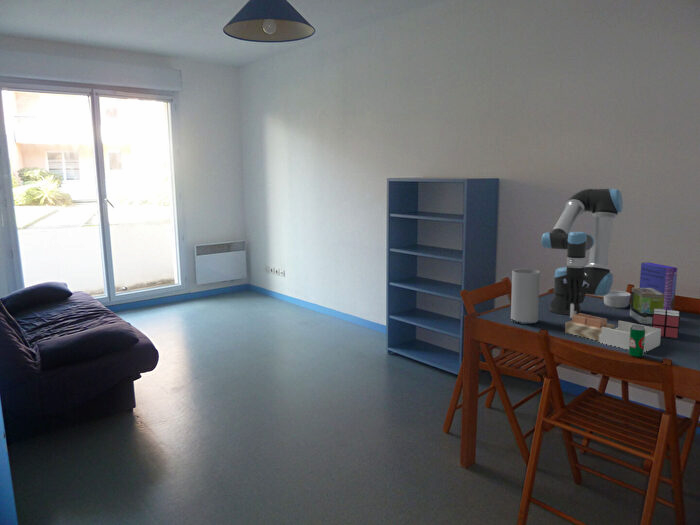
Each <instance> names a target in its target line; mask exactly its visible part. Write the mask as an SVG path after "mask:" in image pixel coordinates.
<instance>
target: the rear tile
mask: <svg viewBox="0 0 700 525" xmlns="http://www.w3.org/2000/svg"><path fill="white" fill-rule="evenodd" d="M592 316H593V315H591V314H585V313H578V314H575V315H573V316H572V318H571V319H572V322H575V323H579V324H584V325H586V321H587V318H589V317H592Z"/></svg>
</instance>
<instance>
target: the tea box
mask: <svg viewBox="0 0 700 525" xmlns="http://www.w3.org/2000/svg"><path fill="white" fill-rule="evenodd" d="M630 294H631V297H630V308H629V316H630V317H632V318H633V319H634V320H635V321H636V322H638V323H639V324H642V325H645V324H646V325H652V317H653V309H662V310H663V308H664V298H665V294H663V293H661V292H659V291H657V290H655V289H653V288H639V287H631V293H630Z"/></svg>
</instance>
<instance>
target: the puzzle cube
mask: <svg viewBox="0 0 700 525" xmlns="http://www.w3.org/2000/svg"><path fill="white" fill-rule="evenodd" d="M680 315H681V314H680V311H678V310H674V311H672V310H662V309H653V317H652V324H651V327H654V328H659V329H661V338H668V337H670V338H671V339H676V338H677V339H679V333H680V332H679V331H680V320H681V316H680ZM670 338H669V339H670Z"/></svg>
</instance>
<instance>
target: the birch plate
mask: <svg viewBox="0 0 700 525" xmlns="http://www.w3.org/2000/svg"><path fill="white" fill-rule="evenodd" d="M604 327H605V328H610V329H615V327H616V326H615V324H612V323H607V325H606V326H604ZM601 331H602V327H601V328H597V327H593V326H588V325H584V324H579V323H575V322H572V320H569V321H566V322H565V326H564V334H566V333H569V334H568V335H570V334H573V335H572V336H574V335H578V336H577V337H579V336H581V337H580V338H583V337H585V338H584V339H587V338H589V339H588V340H591V339H593V340H592V341H595V340H597V341H596V342H599V335H600V334H601Z"/></svg>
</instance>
